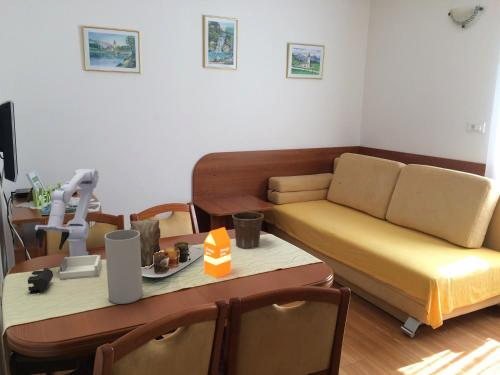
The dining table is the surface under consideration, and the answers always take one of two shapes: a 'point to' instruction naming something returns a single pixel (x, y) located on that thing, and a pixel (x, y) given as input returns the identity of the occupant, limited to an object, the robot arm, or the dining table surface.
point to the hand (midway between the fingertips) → (50, 248)
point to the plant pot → (247, 229)
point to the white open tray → (81, 267)
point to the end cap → (40, 281)
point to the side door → (63, 266)
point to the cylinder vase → (123, 266)
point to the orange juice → (217, 253)
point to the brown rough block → (147, 239)
